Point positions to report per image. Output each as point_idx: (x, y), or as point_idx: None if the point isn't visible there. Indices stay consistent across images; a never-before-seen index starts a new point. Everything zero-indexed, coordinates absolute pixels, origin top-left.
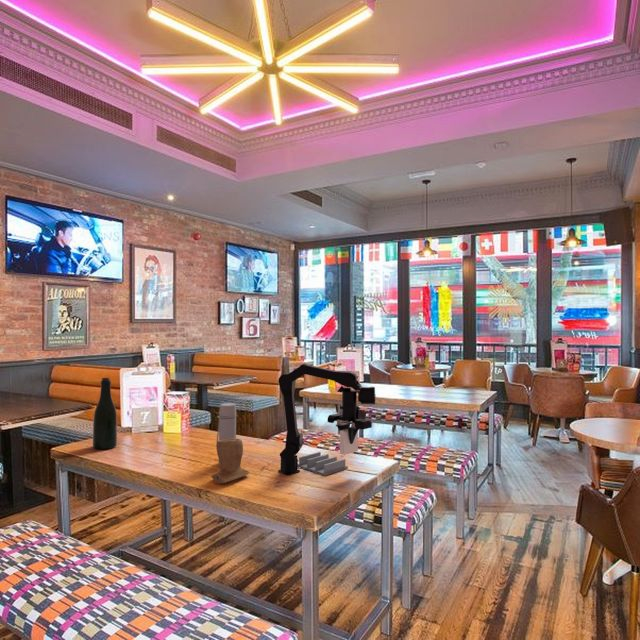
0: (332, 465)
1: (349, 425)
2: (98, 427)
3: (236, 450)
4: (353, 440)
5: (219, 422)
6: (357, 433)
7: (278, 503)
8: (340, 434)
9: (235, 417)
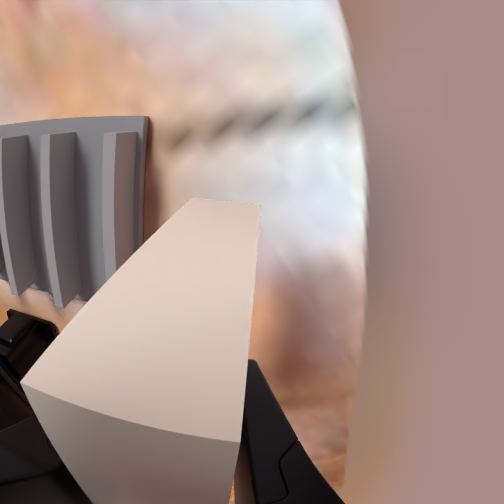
0: (121, 259)
1: (5, 488)
2: None
3: None
4: (267, 392)
5: None
6: (247, 337)
7: (231, 493)
8: None
9: None
